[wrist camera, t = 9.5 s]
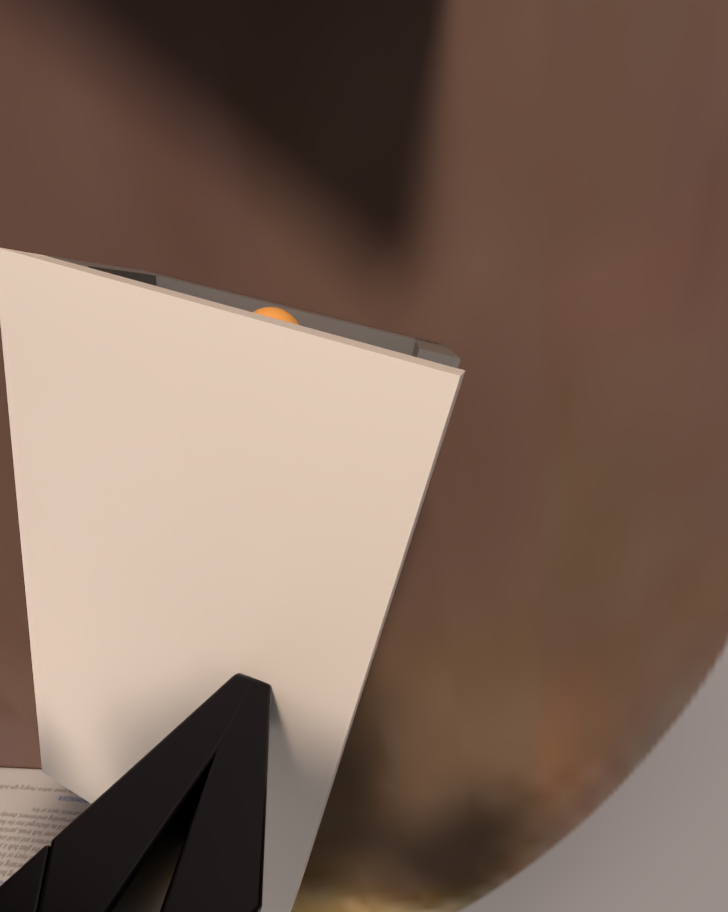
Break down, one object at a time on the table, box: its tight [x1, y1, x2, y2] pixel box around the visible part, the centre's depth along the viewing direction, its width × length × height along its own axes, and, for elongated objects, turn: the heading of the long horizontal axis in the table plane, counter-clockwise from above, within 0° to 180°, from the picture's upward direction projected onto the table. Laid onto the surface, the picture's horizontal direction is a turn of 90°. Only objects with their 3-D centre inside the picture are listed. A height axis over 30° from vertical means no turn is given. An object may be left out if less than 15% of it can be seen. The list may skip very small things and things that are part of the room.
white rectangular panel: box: [0, 248, 465, 912], centre depth 9 cm, size 8×14×1 cm, turn 167°
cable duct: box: [48, 256, 461, 368], centre depth 11 cm, size 8×14×3 cm, turn 167°
